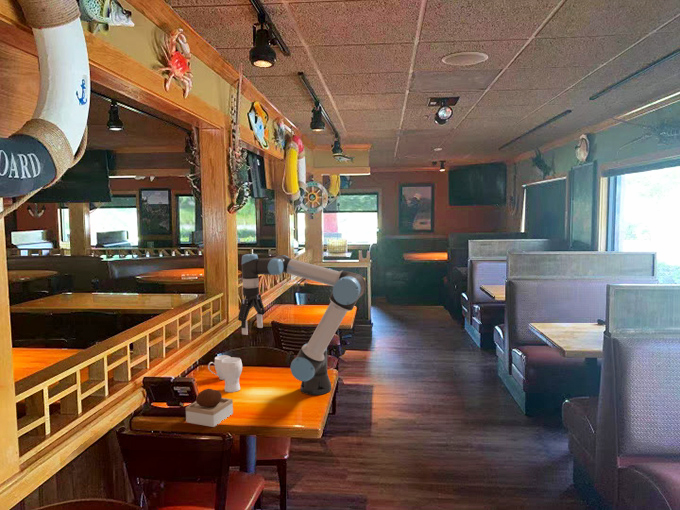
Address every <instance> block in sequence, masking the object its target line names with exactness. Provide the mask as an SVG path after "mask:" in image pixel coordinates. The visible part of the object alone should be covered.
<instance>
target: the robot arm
mask: <svg viewBox="0 0 680 510" xmlns="http://www.w3.org/2000/svg"><path fill="white" fill-rule="evenodd" d="M241 273H242V277H241V278H242V287H243V288H242V296H244V299H243V298H241V300H240V309H239V312H238V317H237V321H239V322H241V335H246V336H247V335H249V334H248V333H249V332H248V331H249V328H248V327H249V326H248V320H247V318H248V316H249V313H250V311H251V309H252V307H253V308H254V310H255V311H256V313H257V314H256V327H257V328H259V329H263V327H264V325H263V322H264V321H263V315H265V313H266V312H265V311H266V309H265V307H264V304H263V301H262V294H260V287H259V286H260V281H259V275H267V276H268V275H270V276H277V275H278V276H279V275H281V274H282V273H284V274H288V275H291V276H295V277H299V278H303V279H306V280H310V281H313V282H317V283H319V284H323V285H326V286H331V287H332V292H331V294H330V295H329V300H330V303H329V304H328V306H327V308H326V310H325V312H324V314H323V315H322V317H321V319H320V321H319V322H318V325H317V326H316V328H315V330H314V331H313V334H312V335H311V337H310V339H309V341H308V342H307V343H305V344H303V345H302V347H301V348H300V350H299V351H298V353H297V356H296V357H295V358H294V359H292V361H291V363H290V367H289V369H290V371H291V374H292V376H293V378H295V379H296V380H298V381H300V382H301V383H300V392H302V394H305V395H308V396H309V395H311V396H317V395H318V396H320V395H324V394H325V395H326V394H328V393H330V392H331V391H332V383H331V379H330V377H329V374H328V346H329V345H330V342H331V341H332V339H333V338H334V336H335V334H336V332H337V330H338V329H339V327H340V325H341V324H342V321H343V319H345V317H346V315H347V312H350V311H351V312H352V311H353V308H355V306H356V303H357V302H358V300H359V299H360V297H362V296H363V295H364V294H365V293H366V290H367V283H366V280H365V278H364V277H363V276H362V275H361V274H359V273H355V272H353V271H352V272H351V271H347V270H340V271H338V270H336V269H335V270H334V269H331V268H328V267H323V266H320V265H317V264H312V263H308V262H304V261H301V260H297V259H293V258H290V257H289V256H287V255H283V254H281V255H277V256H274V257H269V258H259V257H258V254H257V253H247V254H243V255H242V256H241Z"/></svg>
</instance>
